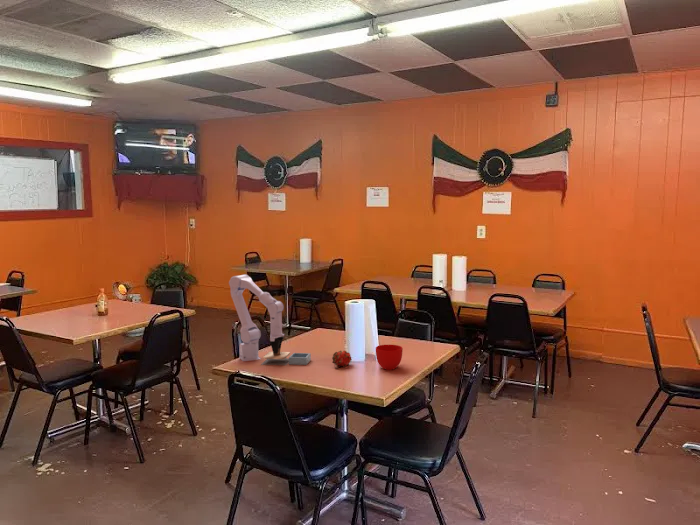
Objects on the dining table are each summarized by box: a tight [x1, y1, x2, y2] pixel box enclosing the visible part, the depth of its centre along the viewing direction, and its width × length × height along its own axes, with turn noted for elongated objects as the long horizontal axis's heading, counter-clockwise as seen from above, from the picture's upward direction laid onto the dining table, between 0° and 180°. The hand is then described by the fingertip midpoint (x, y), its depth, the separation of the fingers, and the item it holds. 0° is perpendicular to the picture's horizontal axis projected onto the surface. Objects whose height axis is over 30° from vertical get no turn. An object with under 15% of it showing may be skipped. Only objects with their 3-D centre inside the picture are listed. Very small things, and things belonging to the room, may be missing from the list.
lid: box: [262, 348, 291, 360], centre depth 275 cm, size 11×11×4 cm
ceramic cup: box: [375, 344, 403, 371], centre depth 264 cm, size 13×17×10 cm
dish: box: [288, 352, 312, 366], centre depth 273 cm, size 9×9×4 cm
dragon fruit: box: [331, 350, 352, 368], centre depth 267 cm, size 8×8×12 cm
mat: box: [260, 357, 289, 366], centre depth 275 cm, size 13×13×1 cm
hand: (276, 352), depth 275 cm, fingers closed on lid, 4 cm apart
